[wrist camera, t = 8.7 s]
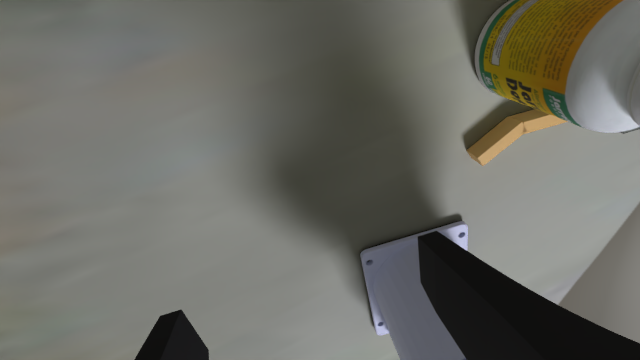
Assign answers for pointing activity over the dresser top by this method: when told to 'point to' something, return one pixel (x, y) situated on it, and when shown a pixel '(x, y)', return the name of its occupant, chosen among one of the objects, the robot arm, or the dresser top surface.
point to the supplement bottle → (566, 59)
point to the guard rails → (510, 133)
